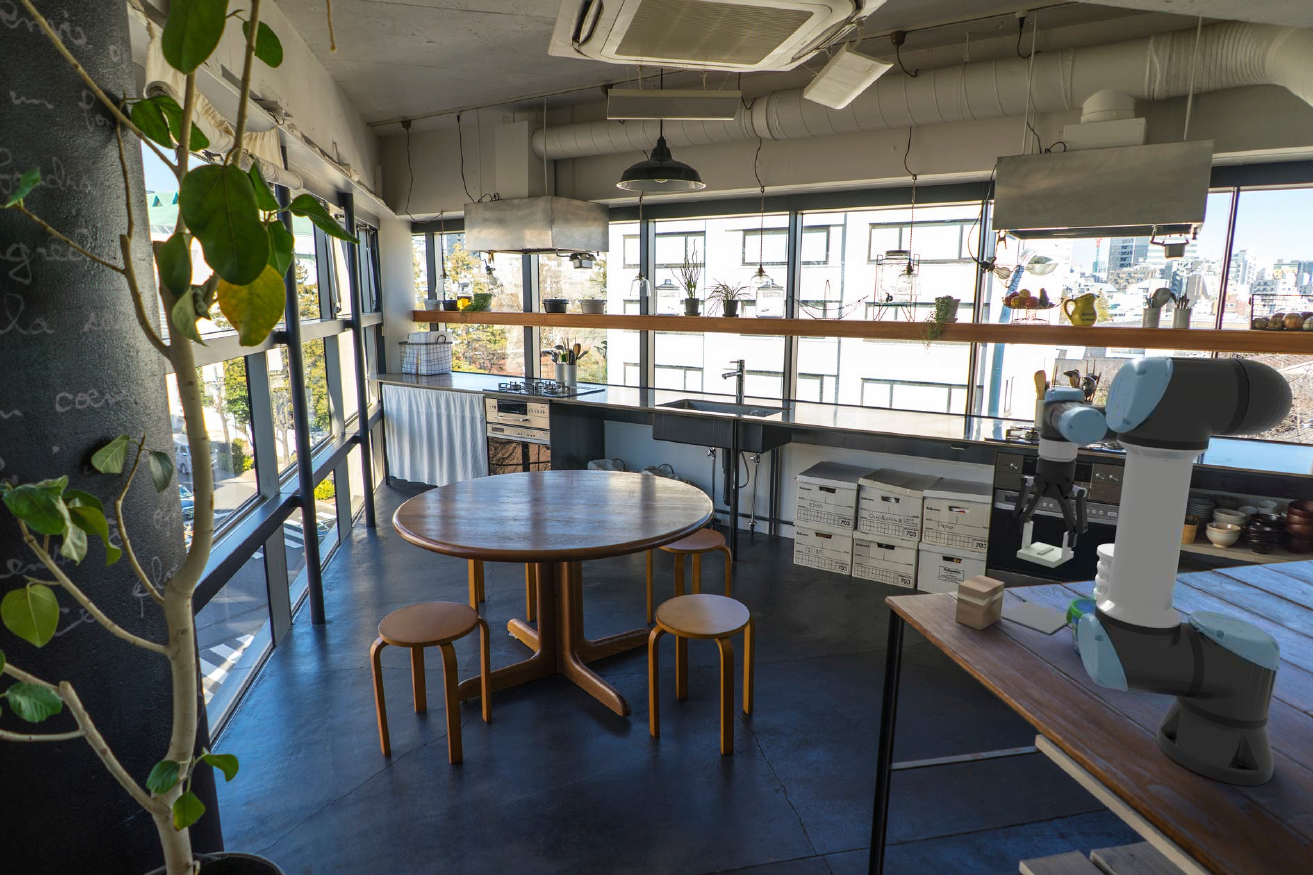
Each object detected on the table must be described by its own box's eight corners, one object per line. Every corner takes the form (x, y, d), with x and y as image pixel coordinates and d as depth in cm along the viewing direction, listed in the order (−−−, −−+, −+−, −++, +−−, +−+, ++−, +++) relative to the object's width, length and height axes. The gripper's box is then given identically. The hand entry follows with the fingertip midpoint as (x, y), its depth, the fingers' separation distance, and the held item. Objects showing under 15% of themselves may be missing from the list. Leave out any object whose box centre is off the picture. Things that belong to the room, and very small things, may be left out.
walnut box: (980, 630, 160) (984, 592, 159) (954, 620, 165) (958, 583, 163) (1000, 619, 166) (1004, 582, 164) (975, 609, 171) (979, 574, 169)
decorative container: (1076, 625, 163) (1086, 550, 160) (1098, 611, 170) (1108, 539, 166) (1133, 644, 154) (1145, 566, 150) (1154, 629, 161) (1166, 554, 157)
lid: (1053, 567, 158) (1053, 560, 157) (1016, 557, 164) (1017, 550, 164) (1072, 557, 164) (1073, 550, 163) (1037, 547, 170) (1037, 540, 170)
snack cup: (1143, 673, 143) (1150, 626, 141) (1090, 673, 143) (1097, 626, 141) (1096, 636, 158) (1102, 593, 156) (1048, 636, 158) (1053, 592, 156)
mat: (1049, 634, 158) (1049, 633, 158) (1000, 617, 167) (1000, 615, 167) (1075, 618, 166) (1075, 617, 166) (1027, 602, 175) (1027, 601, 175)
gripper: (1115, 464, 153) (1101, 564, 158) (1017, 446, 169) (1007, 538, 174) (1101, 469, 149) (1087, 572, 153) (1002, 451, 165) (992, 545, 169)
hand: (1045, 554), depth 164 cm, fingers closed on lid, 8 cm apart
